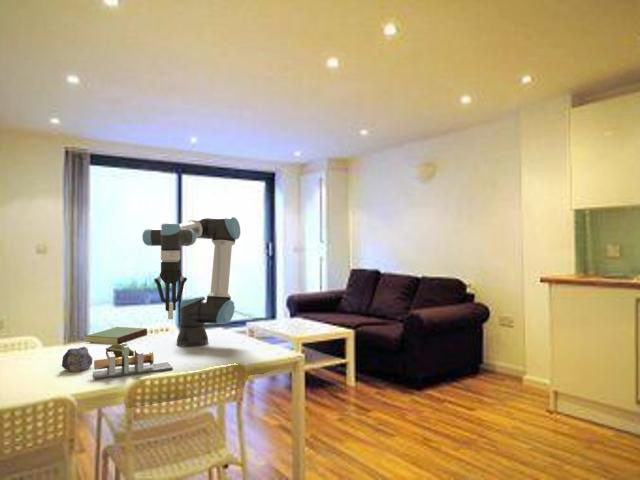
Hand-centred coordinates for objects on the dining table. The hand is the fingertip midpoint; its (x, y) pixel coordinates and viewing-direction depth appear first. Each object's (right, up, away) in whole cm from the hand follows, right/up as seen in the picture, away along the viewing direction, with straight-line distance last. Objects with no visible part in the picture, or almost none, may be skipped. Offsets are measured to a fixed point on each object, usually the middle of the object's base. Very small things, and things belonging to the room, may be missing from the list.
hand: (170, 318), depth 187 cm
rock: (-36, -20, -4) cm, 41 cm away
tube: (-15, -18, -9) cm, 25 cm away
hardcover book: (-46, -20, +55) cm, 75 cm away
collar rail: (-12, -20, -7) cm, 24 cm away
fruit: (-25, -20, +11) cm, 34 cm away
